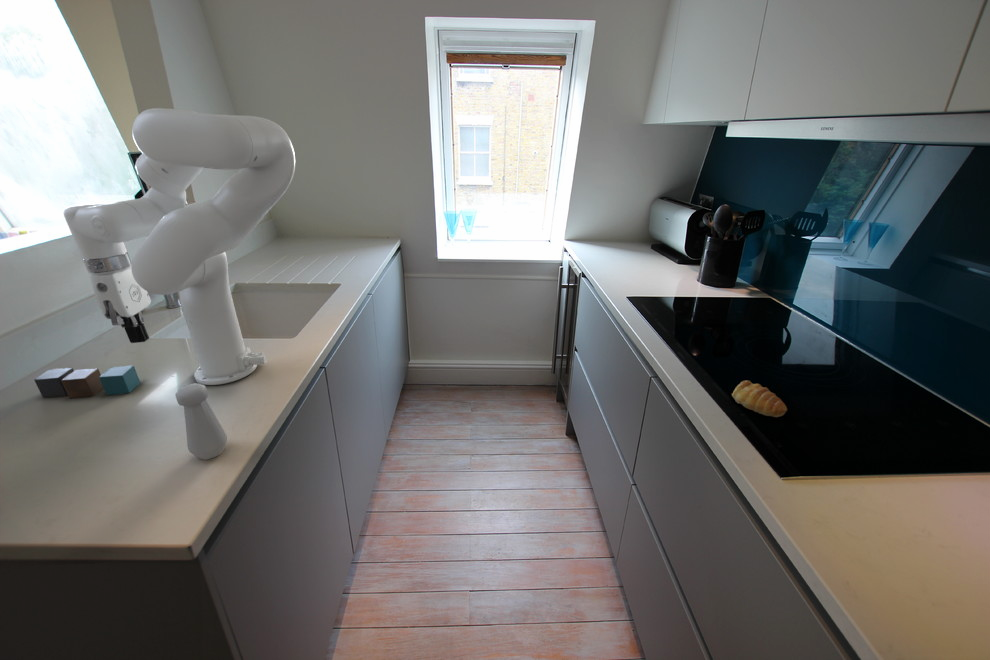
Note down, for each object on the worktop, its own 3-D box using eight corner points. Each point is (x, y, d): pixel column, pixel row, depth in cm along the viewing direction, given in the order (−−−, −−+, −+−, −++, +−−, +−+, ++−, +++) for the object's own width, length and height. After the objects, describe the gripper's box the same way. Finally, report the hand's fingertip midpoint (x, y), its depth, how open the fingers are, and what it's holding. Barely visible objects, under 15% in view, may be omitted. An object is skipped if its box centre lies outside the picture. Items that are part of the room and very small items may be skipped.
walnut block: (105, 385, 97) (98, 368, 96) (92, 396, 93) (84, 378, 92) (83, 387, 97) (75, 369, 95) (69, 398, 93) (60, 380, 91)
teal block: (140, 382, 98) (133, 365, 97) (129, 393, 94) (122, 375, 93) (118, 384, 98) (111, 367, 96) (106, 395, 94) (98, 377, 92)
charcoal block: (80, 385, 98) (72, 367, 96) (66, 395, 94) (57, 377, 92) (58, 386, 97) (49, 369, 95) (42, 397, 93) (33, 379, 91)
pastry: (792, 412, 87) (797, 396, 85) (772, 423, 84) (777, 407, 82) (746, 390, 94) (750, 375, 92) (726, 400, 91) (730, 384, 89)
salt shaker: (212, 465, 74) (189, 399, 68) (183, 461, 75) (158, 395, 69) (237, 443, 79) (218, 380, 74) (210, 439, 80) (189, 377, 75)
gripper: (106, 271, 88) (139, 353, 96) (146, 253, 102) (173, 326, 109) (64, 275, 87) (101, 357, 95) (110, 256, 101) (140, 330, 108)
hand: (140, 340), depth 102 cm, fingers closed
